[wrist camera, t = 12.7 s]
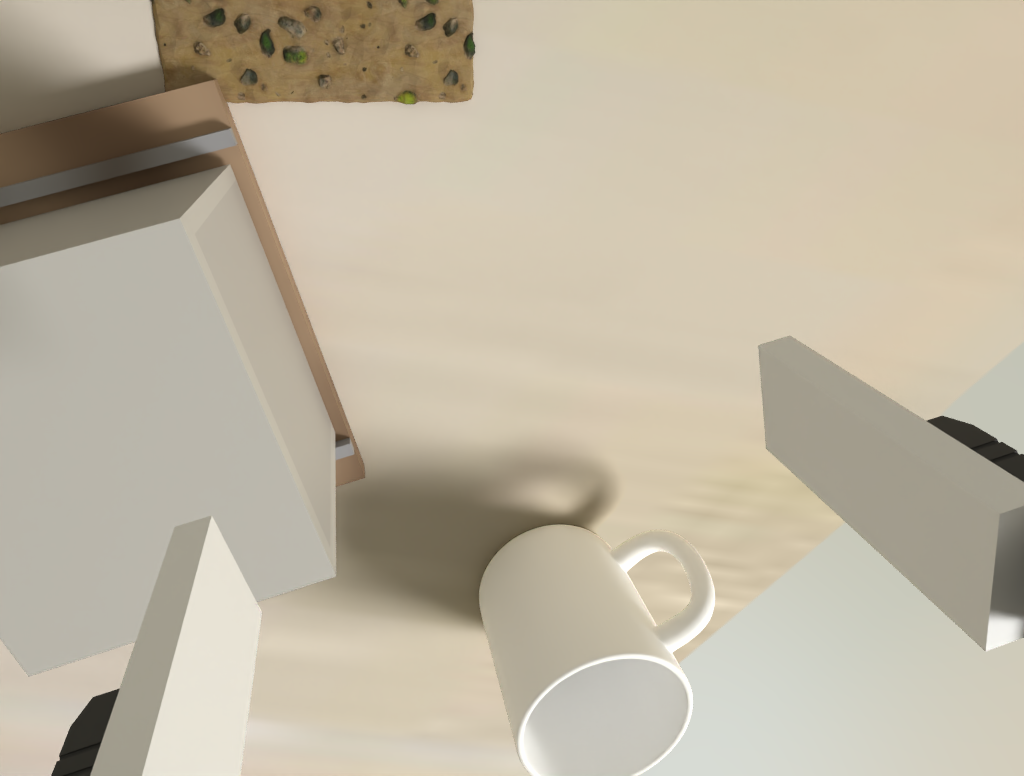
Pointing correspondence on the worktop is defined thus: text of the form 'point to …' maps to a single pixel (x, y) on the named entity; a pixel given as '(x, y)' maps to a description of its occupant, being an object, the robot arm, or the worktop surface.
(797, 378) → the robot arm
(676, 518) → the worktop surface
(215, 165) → the board
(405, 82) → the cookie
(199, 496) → the housing
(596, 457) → the worktop surface
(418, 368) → the worktop surface
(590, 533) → the cup
